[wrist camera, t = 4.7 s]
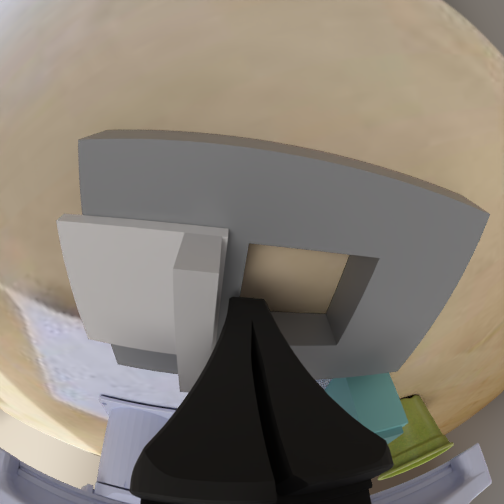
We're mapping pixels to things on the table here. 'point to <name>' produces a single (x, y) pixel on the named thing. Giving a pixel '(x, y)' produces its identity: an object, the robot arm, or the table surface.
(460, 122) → the table surface
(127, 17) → the table surface
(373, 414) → the plug
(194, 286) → the white stepped block
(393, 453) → the plant pot
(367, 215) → the socket plate
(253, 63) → the table surface
